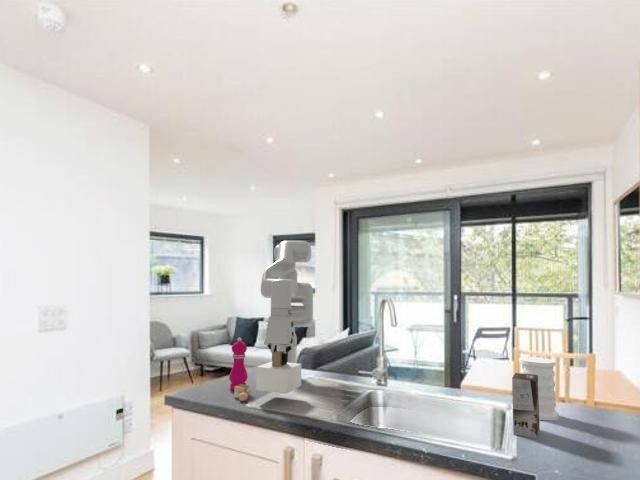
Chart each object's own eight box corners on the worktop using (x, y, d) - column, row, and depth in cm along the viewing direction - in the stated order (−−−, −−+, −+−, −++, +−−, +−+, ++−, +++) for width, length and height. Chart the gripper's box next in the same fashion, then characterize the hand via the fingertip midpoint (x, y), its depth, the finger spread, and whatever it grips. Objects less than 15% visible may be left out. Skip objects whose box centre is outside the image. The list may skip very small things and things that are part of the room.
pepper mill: (245, 391, 162) (246, 339, 164) (226, 390, 162) (228, 338, 164) (248, 386, 169) (250, 336, 171) (231, 386, 169) (232, 336, 171)
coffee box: (537, 439, 117) (535, 380, 118) (512, 434, 120) (511, 377, 122) (540, 429, 124) (538, 374, 126) (516, 425, 128) (515, 371, 129)
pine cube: (240, 395, 157) (240, 384, 157) (249, 396, 156) (249, 385, 156) (234, 397, 153) (234, 386, 154) (243, 399, 152) (243, 387, 152)
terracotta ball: (241, 399, 151) (242, 391, 151) (249, 400, 150) (249, 391, 150) (237, 401, 148) (237, 393, 148) (244, 402, 147) (244, 394, 147)
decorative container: (512, 409, 143) (511, 356, 145) (544, 409, 144) (542, 356, 146) (532, 421, 132) (530, 363, 133) (567, 420, 133) (564, 363, 134)
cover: (272, 382, 159) (273, 347, 160) (301, 385, 154) (301, 350, 156) (256, 389, 148) (257, 352, 149) (286, 393, 143) (287, 355, 145)
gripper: (305, 313, 154) (304, 363, 152) (266, 311, 160) (265, 360, 158) (296, 314, 147) (295, 367, 145) (256, 312, 153) (254, 363, 152)
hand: (279, 363), depth 152 cm, fingers closed on cover, 3 cm apart
